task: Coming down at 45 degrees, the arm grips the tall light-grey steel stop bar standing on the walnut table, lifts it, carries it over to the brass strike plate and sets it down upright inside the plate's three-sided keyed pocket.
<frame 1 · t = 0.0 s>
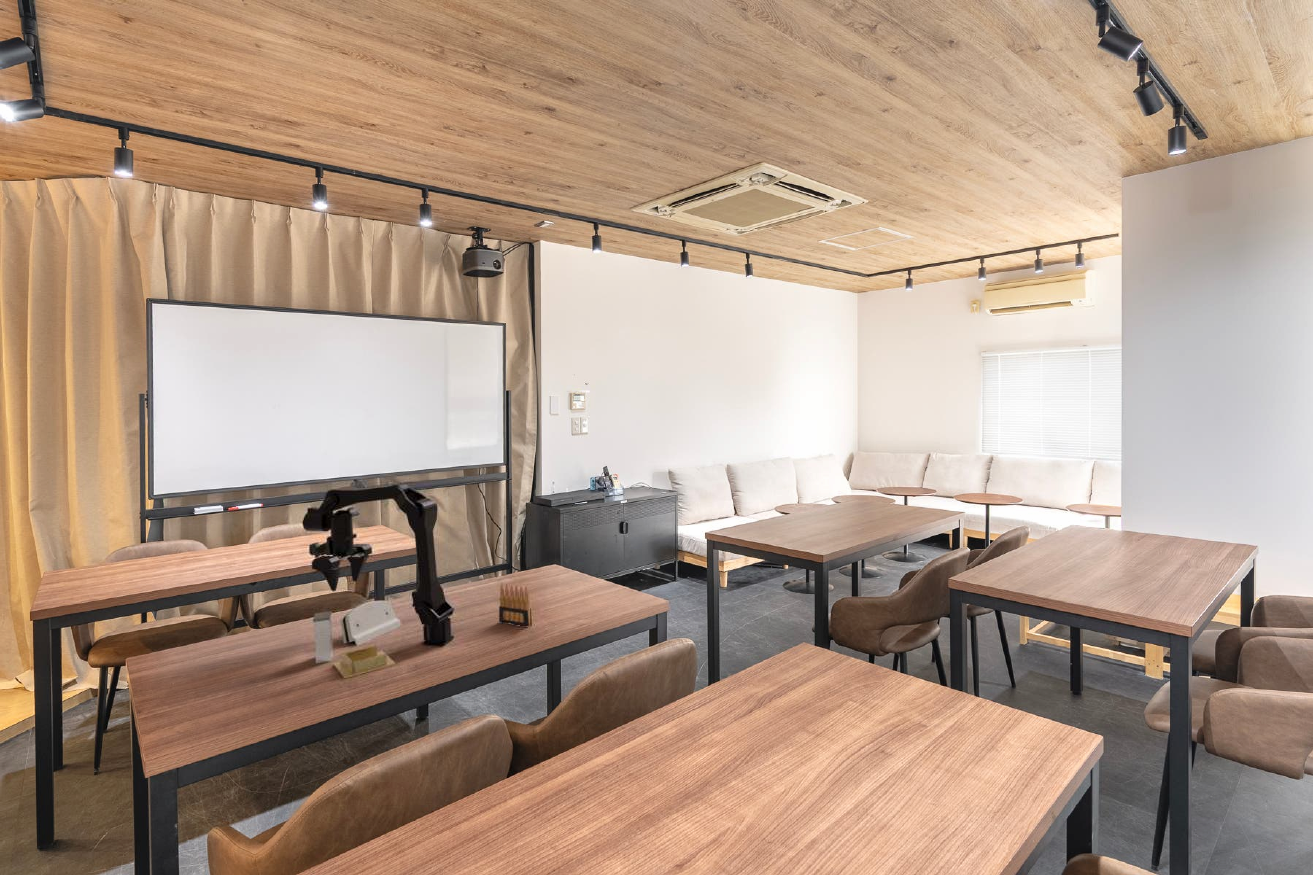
hand: (344, 585, 183), 15 cm above the table, tool pointing down, fingers open, 9 cm apart
ammunition clip: (515, 624, 192), on the table
stop bar: (324, 658, 169), on the table
white rounded housing: (370, 634, 186), on the table
strike pocket: (364, 664, 164), on the table
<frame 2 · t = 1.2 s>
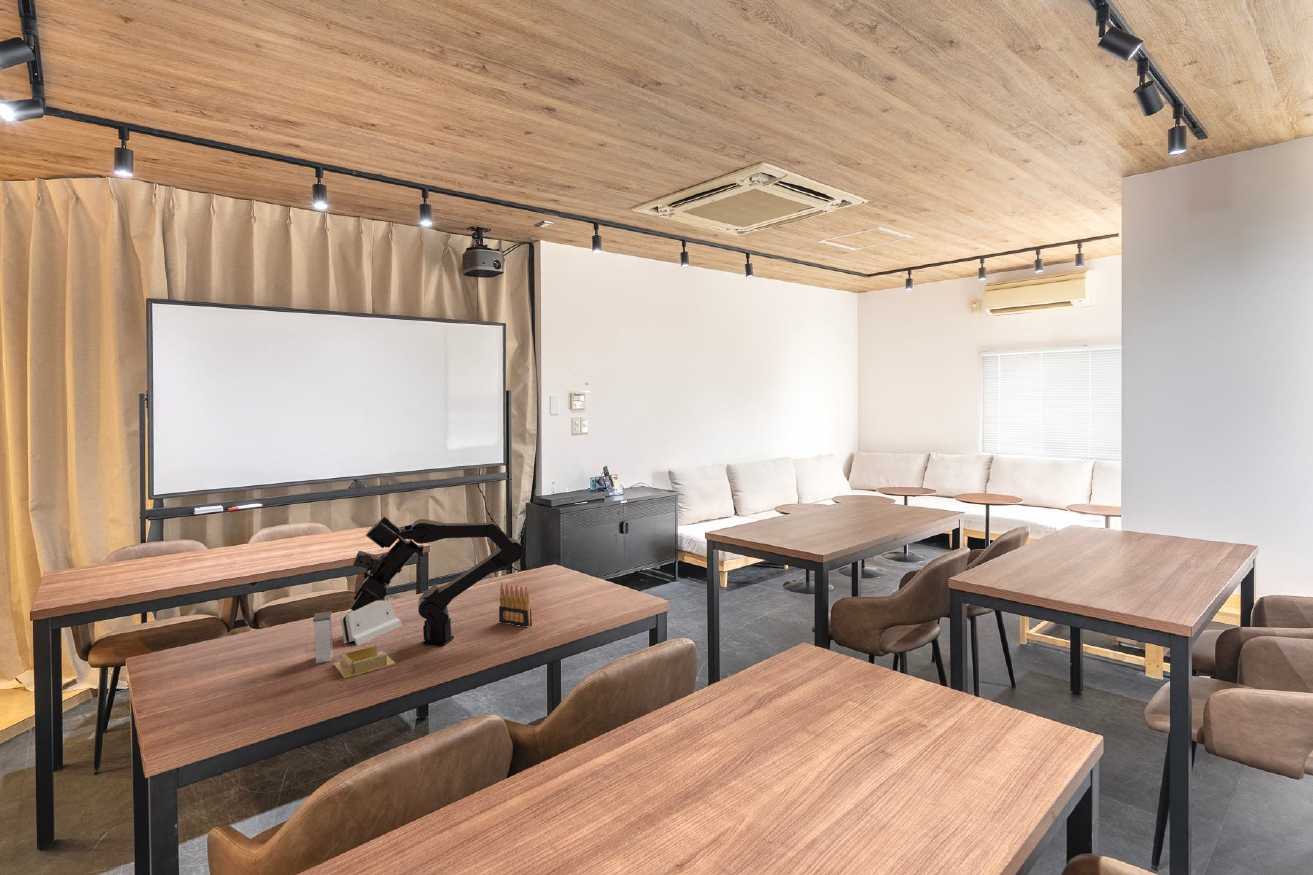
hand: (353, 604, 171), 13 cm above the table, tool tilted 45°, fingers open, 9 cm apart
nothing on the table moved.
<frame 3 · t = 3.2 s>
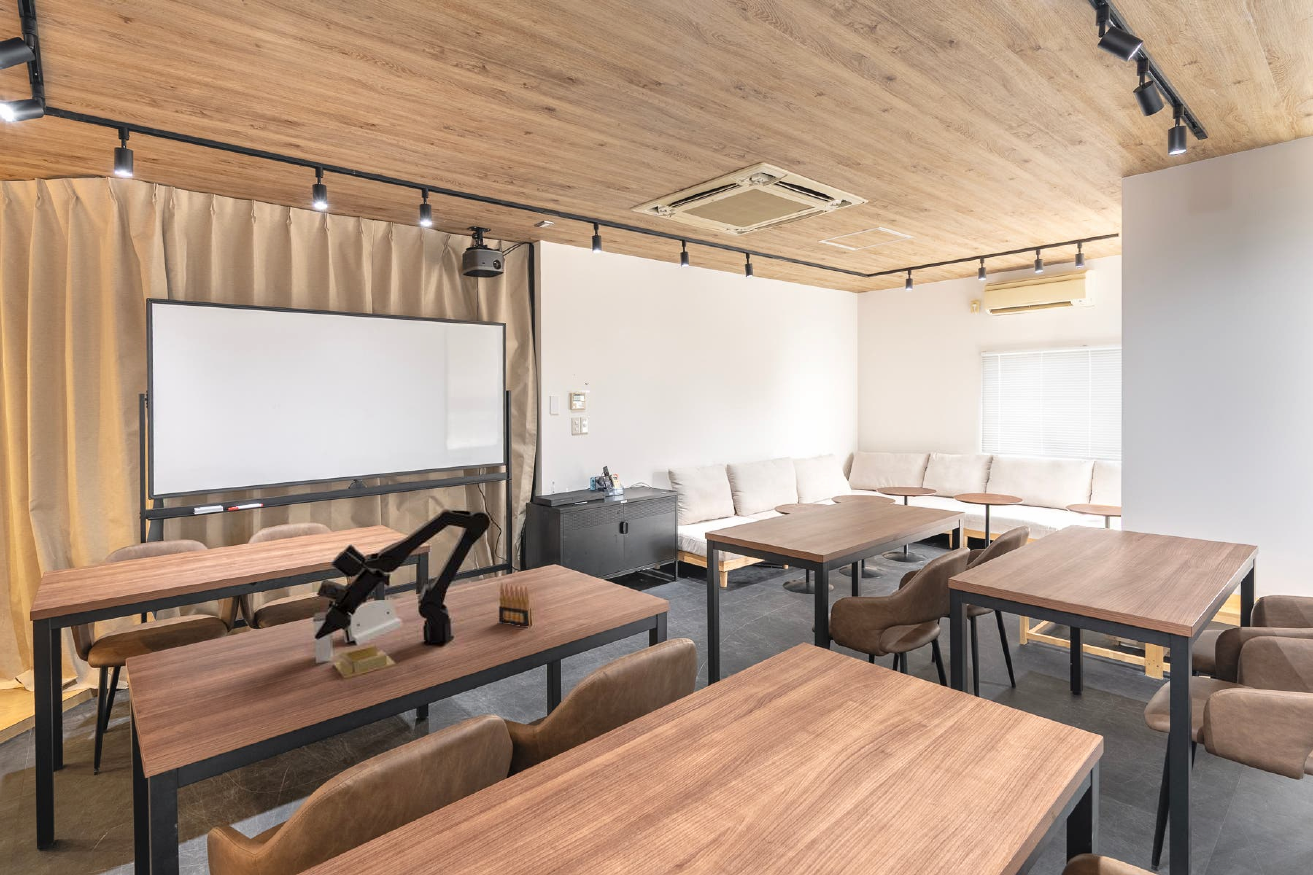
hand: (317, 634, 168), 7 cm above the table, tool tilted 45°, fingers closed on stop bar, 5 cm apart
stop bar: (324, 658, 169), on the table, touching gripper
everything else where it was.
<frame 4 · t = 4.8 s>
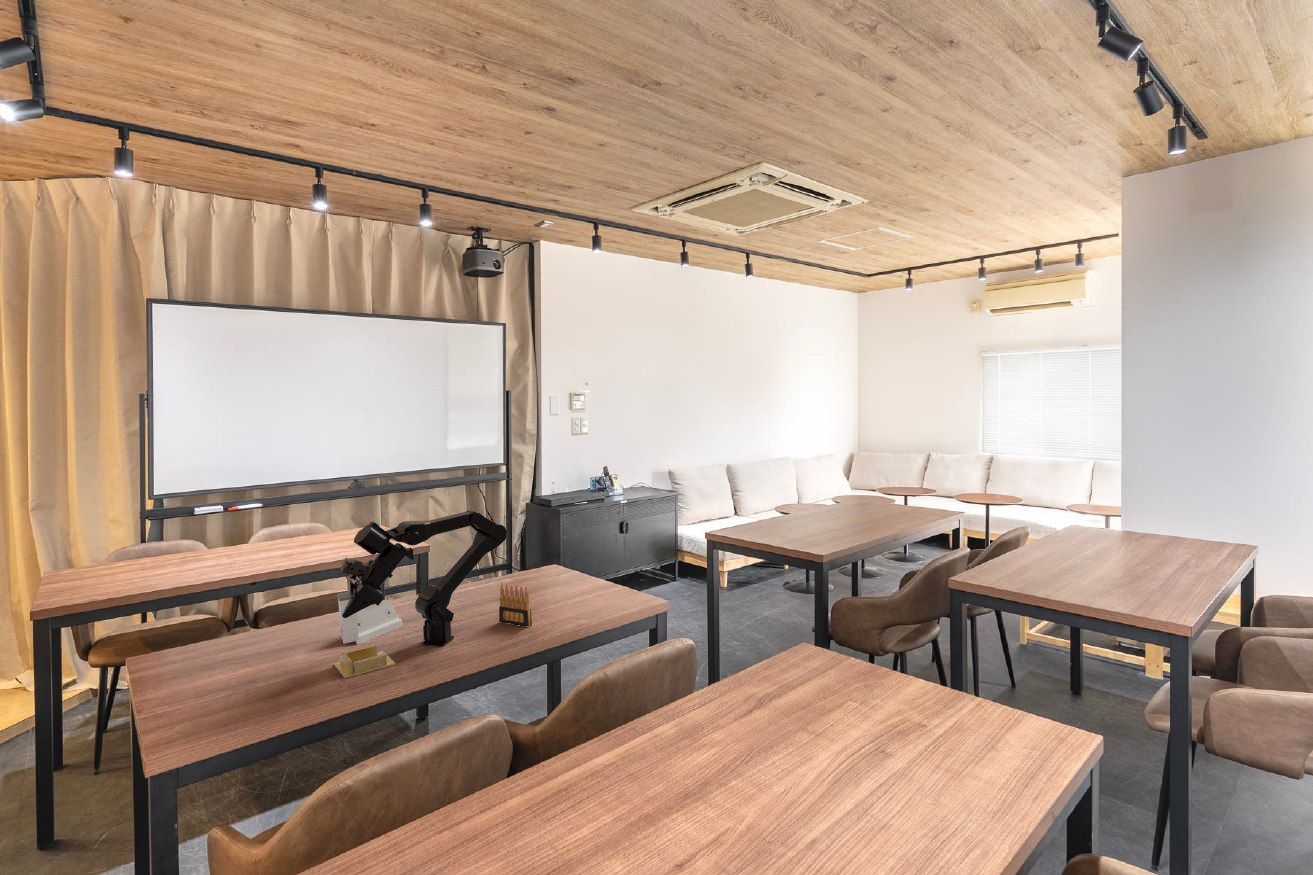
hand: (342, 614, 164), 13 cm above the table, tool tilted 45°, fingers closed on stop bar, 5 cm apart
stop bar: (350, 638, 165), point 6 cm above the table, touching gripper
everything else where it was.
when the fingers open (7 cm above the table, at t = 6.6 s): stop bar stays where it is, resting on strike pocket.
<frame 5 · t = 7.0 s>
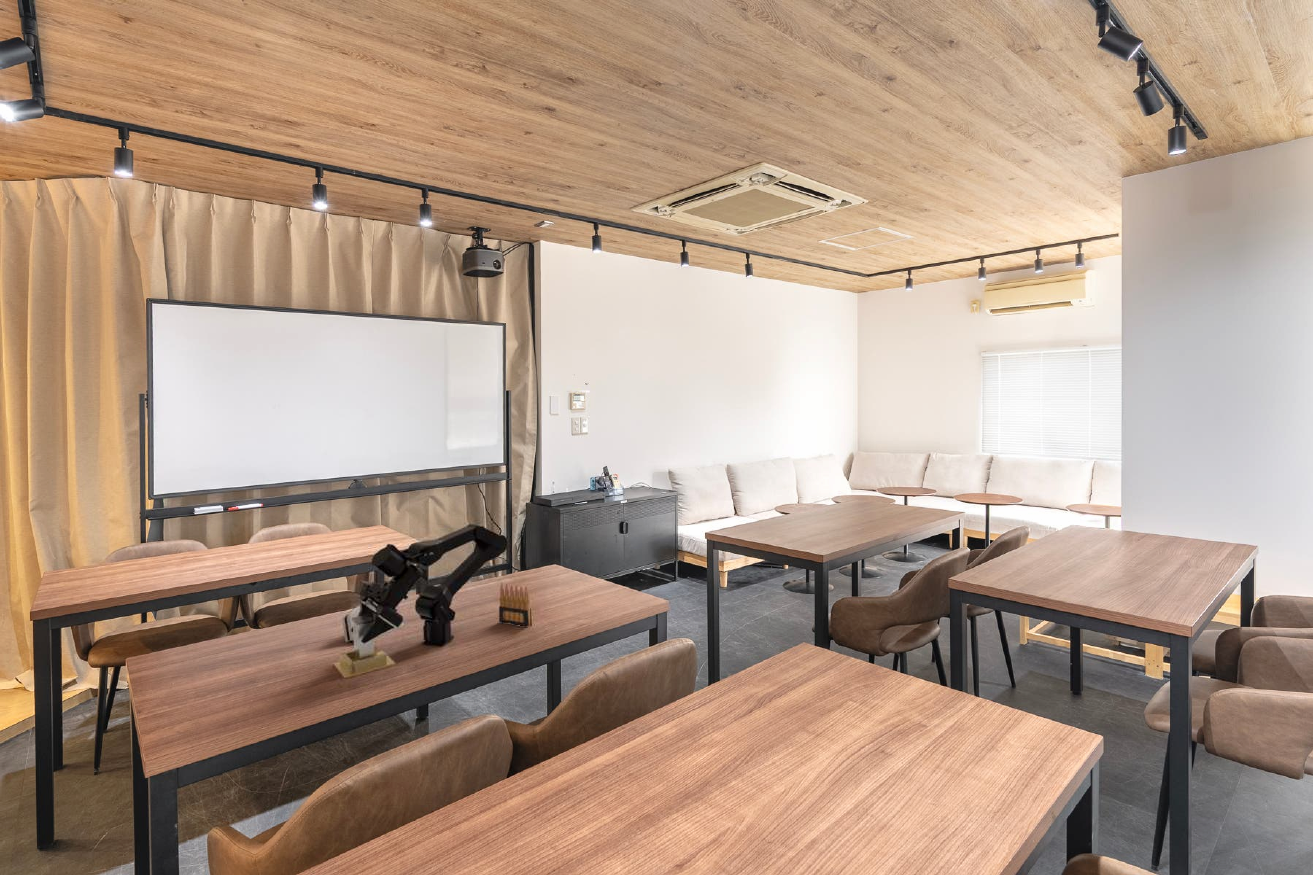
hand: (357, 637, 163), 8 cm above the table, tool tilted 45°, fingers open, 9 cm apart
stop bar: (364, 662, 165), resting on strike pocket
everything else where it was.
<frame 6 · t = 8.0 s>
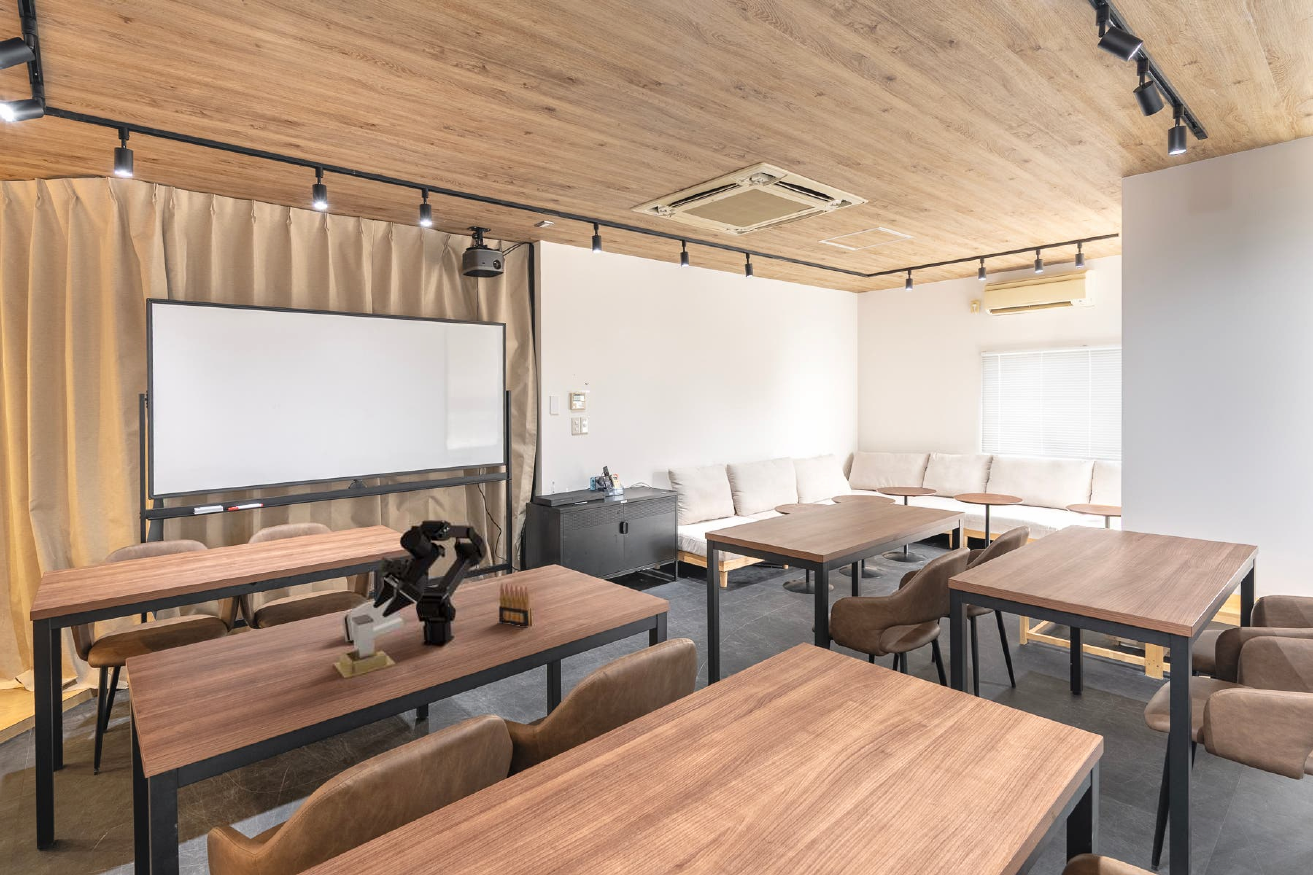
hand: (378, 611, 167), 13 cm above the table, tool tilted 45°, fingers open, 9 cm apart
nothing on the table moved.
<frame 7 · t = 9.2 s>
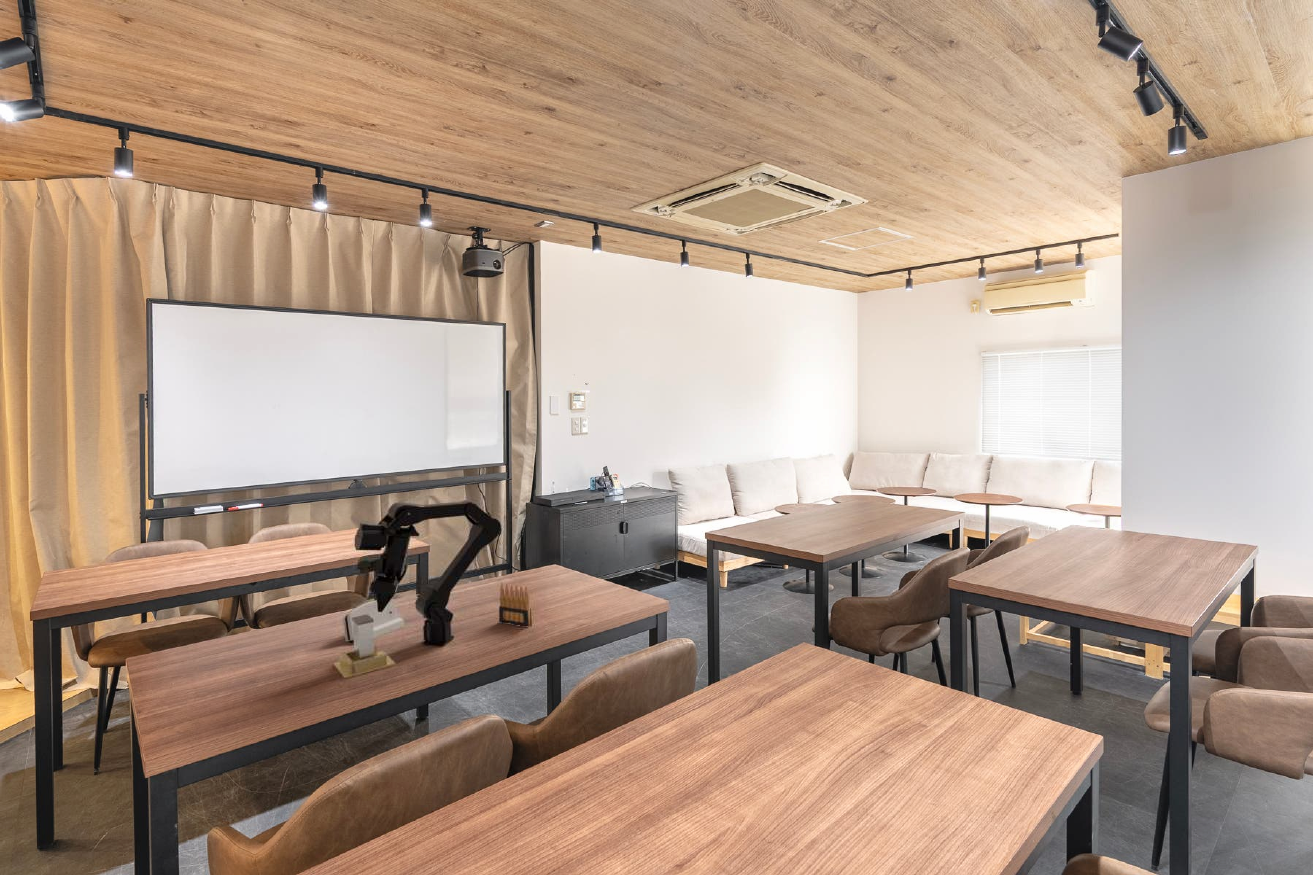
hand: (383, 604, 173), 13 cm above the table, tool tilted 15°, fingers open, 9 cm apart
nothing on the table moved.
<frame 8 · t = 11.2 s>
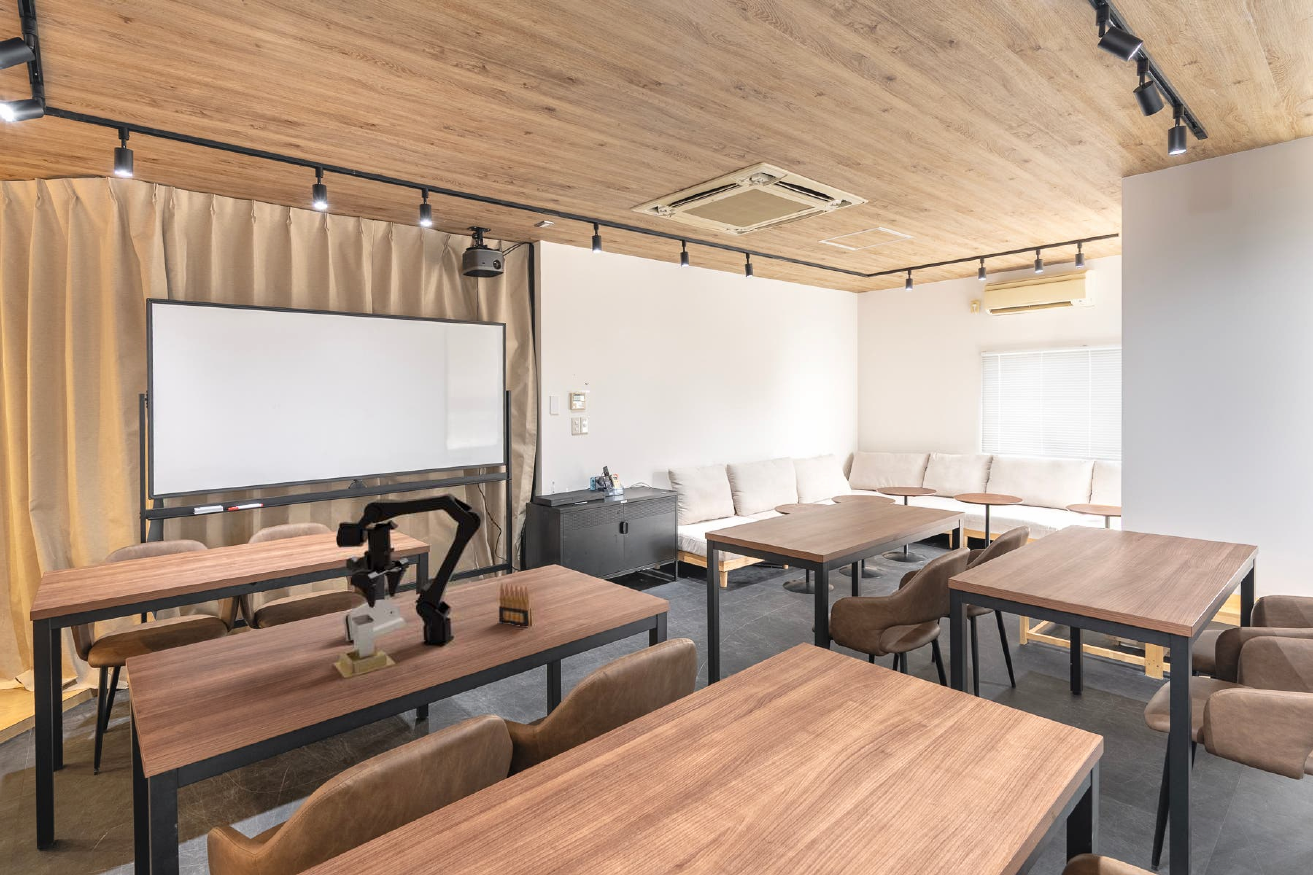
hand: (382, 601, 177), 12 cm above the table, tool pointing down, fingers open, 9 cm apart
at the end: stop bar inside the target area on the strike pocket (0.1 cm from its centre), point 0.4 cm above the strike pocket's base; stop bar tilted 0°; the gripper is holding nothing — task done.
